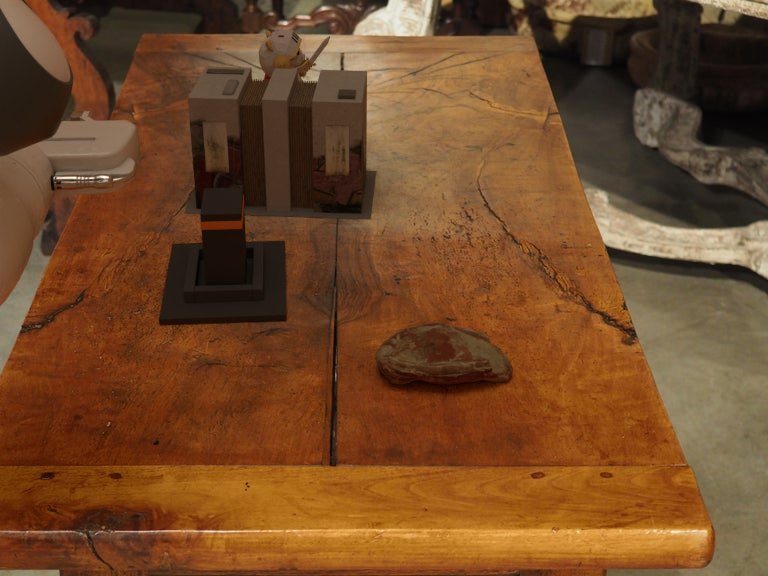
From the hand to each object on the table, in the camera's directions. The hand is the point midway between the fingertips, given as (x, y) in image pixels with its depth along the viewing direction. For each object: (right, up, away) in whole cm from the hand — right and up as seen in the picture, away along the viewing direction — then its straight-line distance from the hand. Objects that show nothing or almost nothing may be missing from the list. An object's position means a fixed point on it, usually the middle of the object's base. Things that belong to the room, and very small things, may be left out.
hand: (27, 119), depth 93 cm
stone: (+37, -23, +20) cm, 48 cm away
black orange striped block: (+12, -13, +34) cm, 38 cm away
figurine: (+15, +12, +80) cm, 82 cm away
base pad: (+12, -14, +34) cm, 39 cm away
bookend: (+17, -1, +57) cm, 59 cm away
